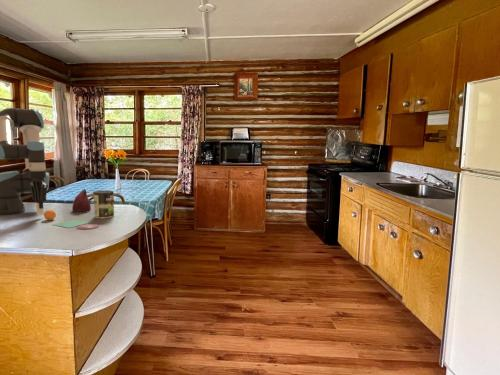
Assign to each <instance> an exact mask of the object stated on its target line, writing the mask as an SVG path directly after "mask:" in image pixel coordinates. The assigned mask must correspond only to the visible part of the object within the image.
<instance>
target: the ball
mask: <svg viewBox="0 0 500 375" xmlns="http://www.w3.org/2000/svg"><path fill="white" fill-rule="evenodd" d="M56 216H57V213H56V211H55V210H54V209H47V210H45V212H44V214H43V217H44V219H45V220H47V221H52V220H54V219H56Z"/></svg>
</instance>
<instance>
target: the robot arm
mask: <svg viewBox="0 0 500 375" xmlns="http://www.w3.org/2000/svg"><path fill="white" fill-rule="evenodd" d="M13 128H15V129H17V128H18V130H19V131H20V132H21V133H22V139H23V140H22V141H23V144H15V142H14V140H15V139H14V133H13ZM44 128H45V122H44V118H43V113H42V112H41V111H40V110H39V109H33V108H31V109H28V108H17V107H16V108H15V107H9V108H8V107H7V108H5V109H1V110H0V159H1V160H10V159H11V160H13V159H15V160H16V159H17V160H18V159H20V160H22V159H24V161H25V168H24V169H23V170H22V173H20V171H18V170H12V171H11V170H10V171H3V172H0V215H1V216H2V215H3V216H5V215H6V216H7V215H15V214H20V213H25V211H26V207H25V206H26V205H25V204H24V202H23V200H22V198H21V194H31V198H32V201H33V202H34V203H35V205H36V206H35V208H36V215H38V216H39V215H44V213H45V212H44V202H47V193H48V192H47V191H48V190H49V186H50V172H47V167H46V158H45V157H46V156H45V153H46V152H45V142H44V141H41V138H40V133H41V132H42V130H43V129H44Z"/></svg>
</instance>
